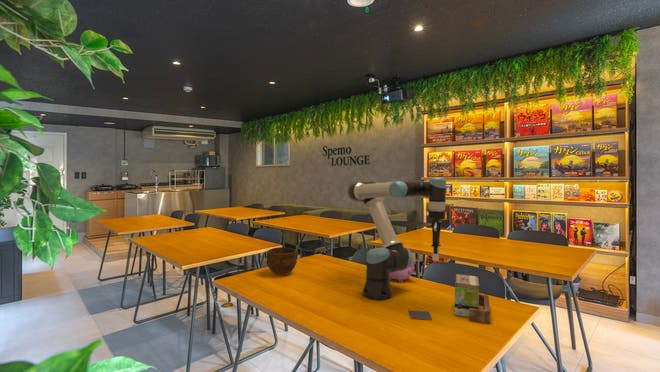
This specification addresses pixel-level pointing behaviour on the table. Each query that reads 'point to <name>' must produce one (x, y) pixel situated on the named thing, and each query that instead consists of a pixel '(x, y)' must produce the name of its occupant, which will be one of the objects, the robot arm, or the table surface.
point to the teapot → (403, 273)
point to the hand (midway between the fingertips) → (435, 260)
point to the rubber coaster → (420, 315)
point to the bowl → (281, 260)
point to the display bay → (481, 311)
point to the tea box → (466, 294)
